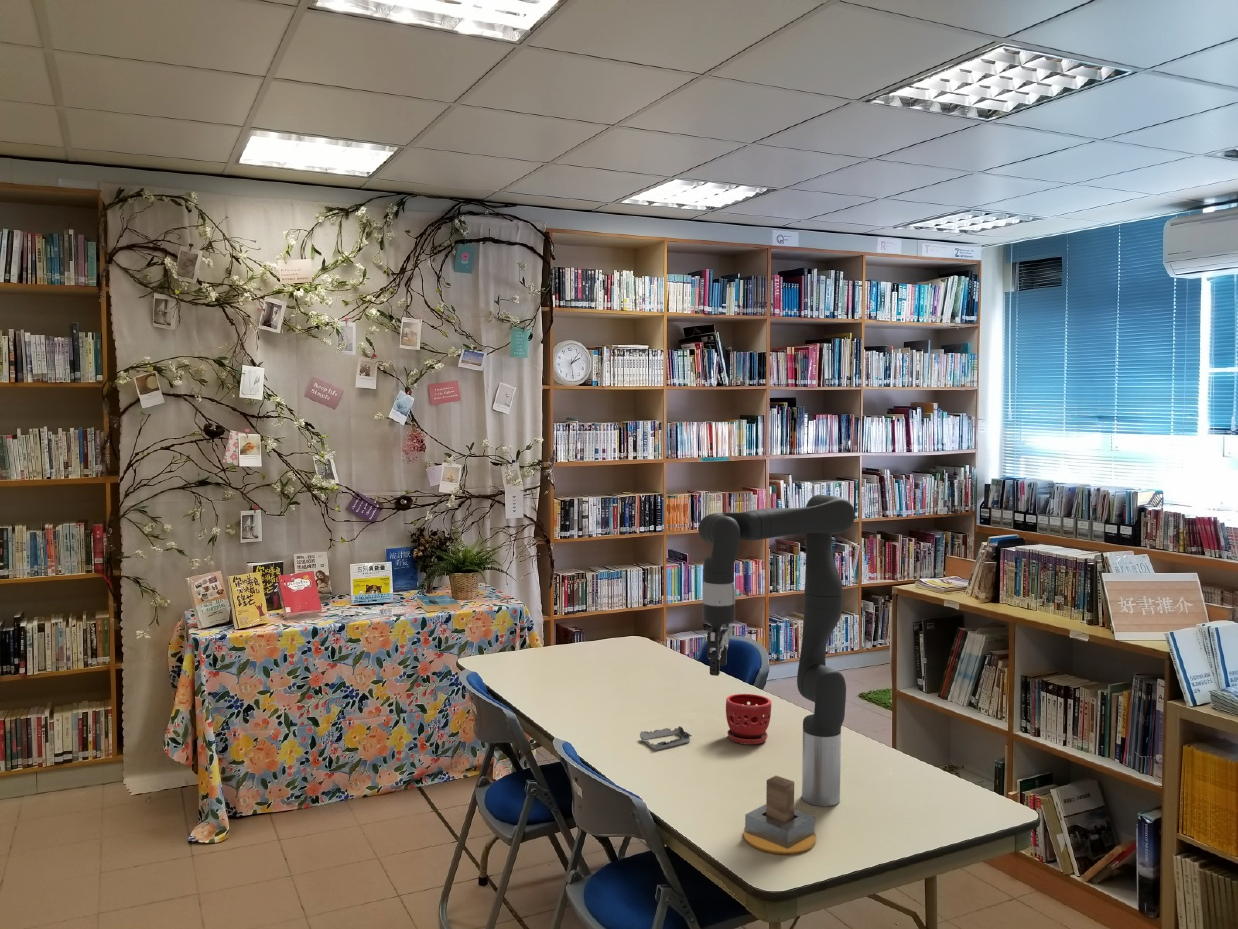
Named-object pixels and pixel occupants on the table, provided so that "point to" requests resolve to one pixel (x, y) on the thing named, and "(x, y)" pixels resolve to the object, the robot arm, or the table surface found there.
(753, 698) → the plant pot
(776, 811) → the brown wooden block
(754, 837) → the grey socket block
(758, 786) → the table surface
